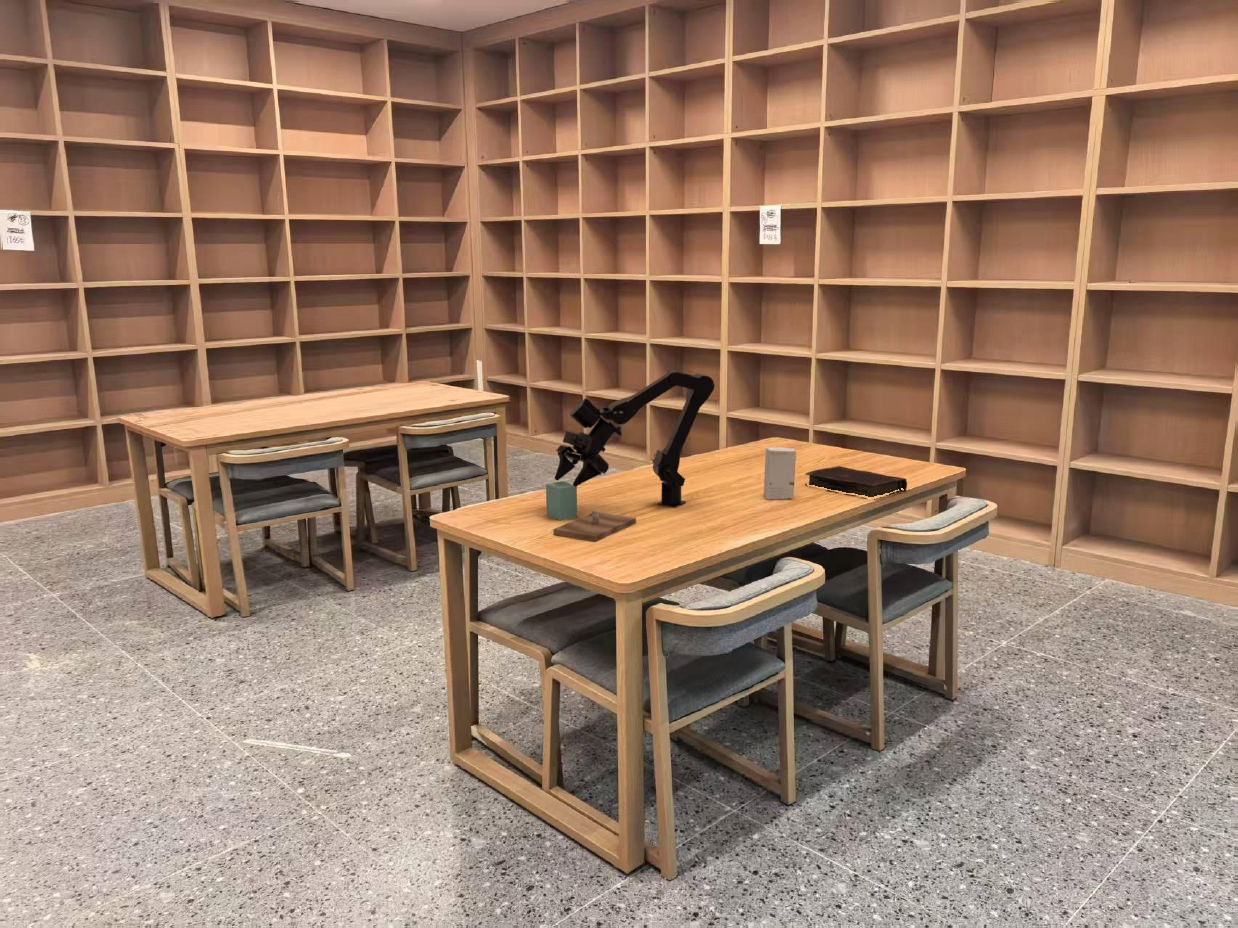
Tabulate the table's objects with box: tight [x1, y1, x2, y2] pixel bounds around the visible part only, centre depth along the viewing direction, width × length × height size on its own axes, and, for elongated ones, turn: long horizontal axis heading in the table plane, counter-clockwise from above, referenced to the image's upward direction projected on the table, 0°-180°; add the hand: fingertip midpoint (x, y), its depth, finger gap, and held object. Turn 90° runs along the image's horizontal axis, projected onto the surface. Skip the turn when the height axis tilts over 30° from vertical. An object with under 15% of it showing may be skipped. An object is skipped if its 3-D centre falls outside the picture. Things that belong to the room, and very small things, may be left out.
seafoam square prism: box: [545, 480, 578, 522], centre depth 256 cm, size 6×7×9 cm
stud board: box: [553, 509, 637, 543], centre depth 244 cm, size 20×13×5 cm, turn 149°
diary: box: [804, 465, 908, 497], centre depth 286 cm, size 19×25×5 cm
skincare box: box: [763, 446, 797, 500], centre depth 275 cm, size 8×6×15 cm
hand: (564, 482), depth 256 cm, fingers open, 9 cm apart
